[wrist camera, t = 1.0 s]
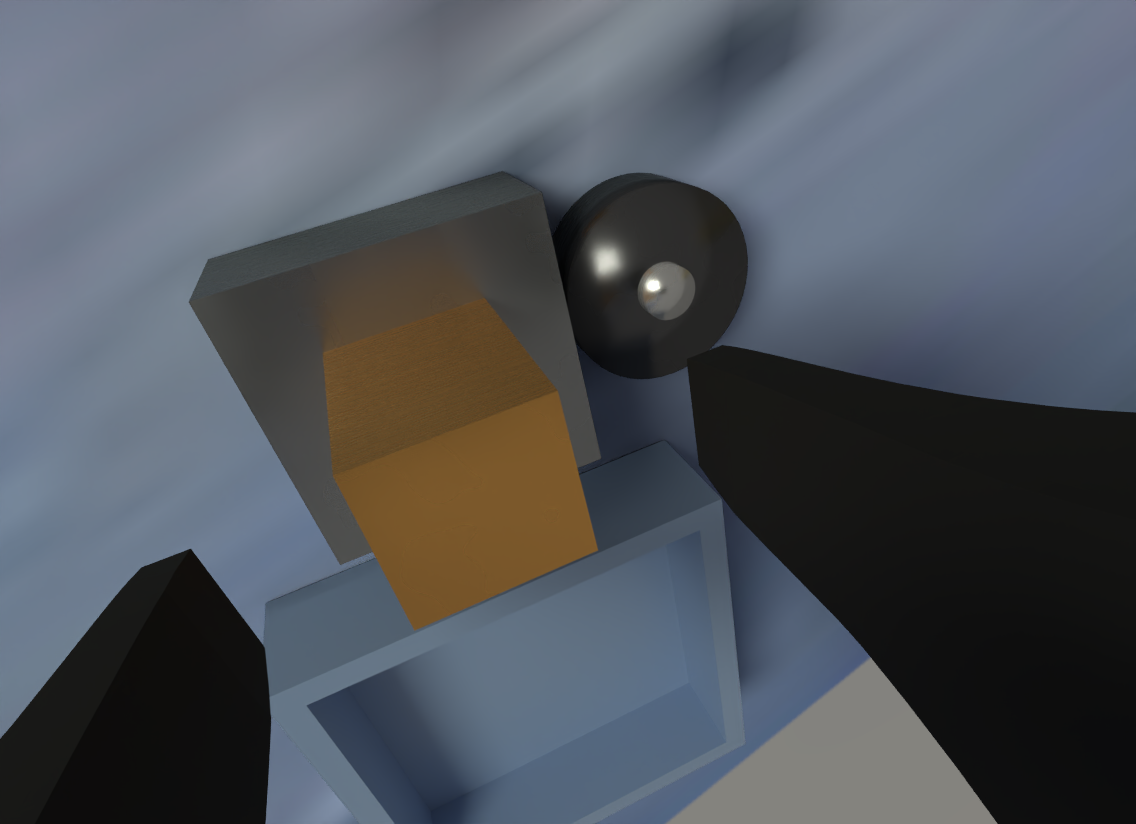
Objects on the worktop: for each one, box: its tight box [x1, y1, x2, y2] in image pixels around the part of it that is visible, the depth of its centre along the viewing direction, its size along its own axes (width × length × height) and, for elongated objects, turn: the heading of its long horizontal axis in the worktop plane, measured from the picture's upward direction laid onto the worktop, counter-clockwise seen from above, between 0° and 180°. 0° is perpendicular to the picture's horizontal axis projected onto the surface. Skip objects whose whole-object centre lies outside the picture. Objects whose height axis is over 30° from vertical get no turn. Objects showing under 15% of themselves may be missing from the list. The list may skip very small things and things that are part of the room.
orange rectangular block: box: [323, 298, 598, 631], centre depth 11 cm, size 3×3×6 cm
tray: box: [263, 440, 745, 824], centre depth 19 cm, size 11×11×3 cm
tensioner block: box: [189, 171, 748, 565], centre depth 14 cm, size 11×6×3 cm, turn 102°
